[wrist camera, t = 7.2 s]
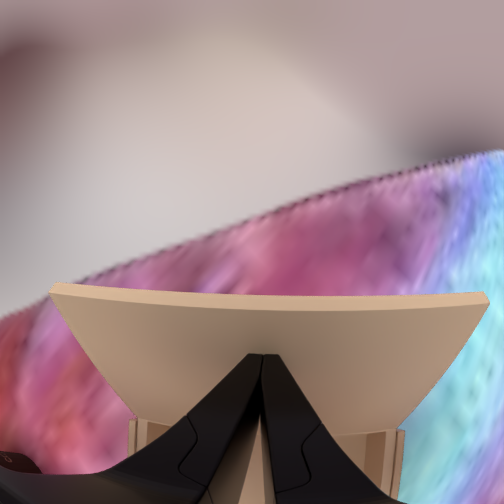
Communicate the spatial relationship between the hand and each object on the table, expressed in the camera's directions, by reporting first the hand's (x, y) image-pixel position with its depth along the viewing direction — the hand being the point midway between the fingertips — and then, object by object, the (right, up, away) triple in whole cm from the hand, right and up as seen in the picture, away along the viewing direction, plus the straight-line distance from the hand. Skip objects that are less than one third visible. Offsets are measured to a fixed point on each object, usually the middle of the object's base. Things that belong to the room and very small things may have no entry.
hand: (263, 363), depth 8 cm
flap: (0, -5, +4) cm, 7 cm away
